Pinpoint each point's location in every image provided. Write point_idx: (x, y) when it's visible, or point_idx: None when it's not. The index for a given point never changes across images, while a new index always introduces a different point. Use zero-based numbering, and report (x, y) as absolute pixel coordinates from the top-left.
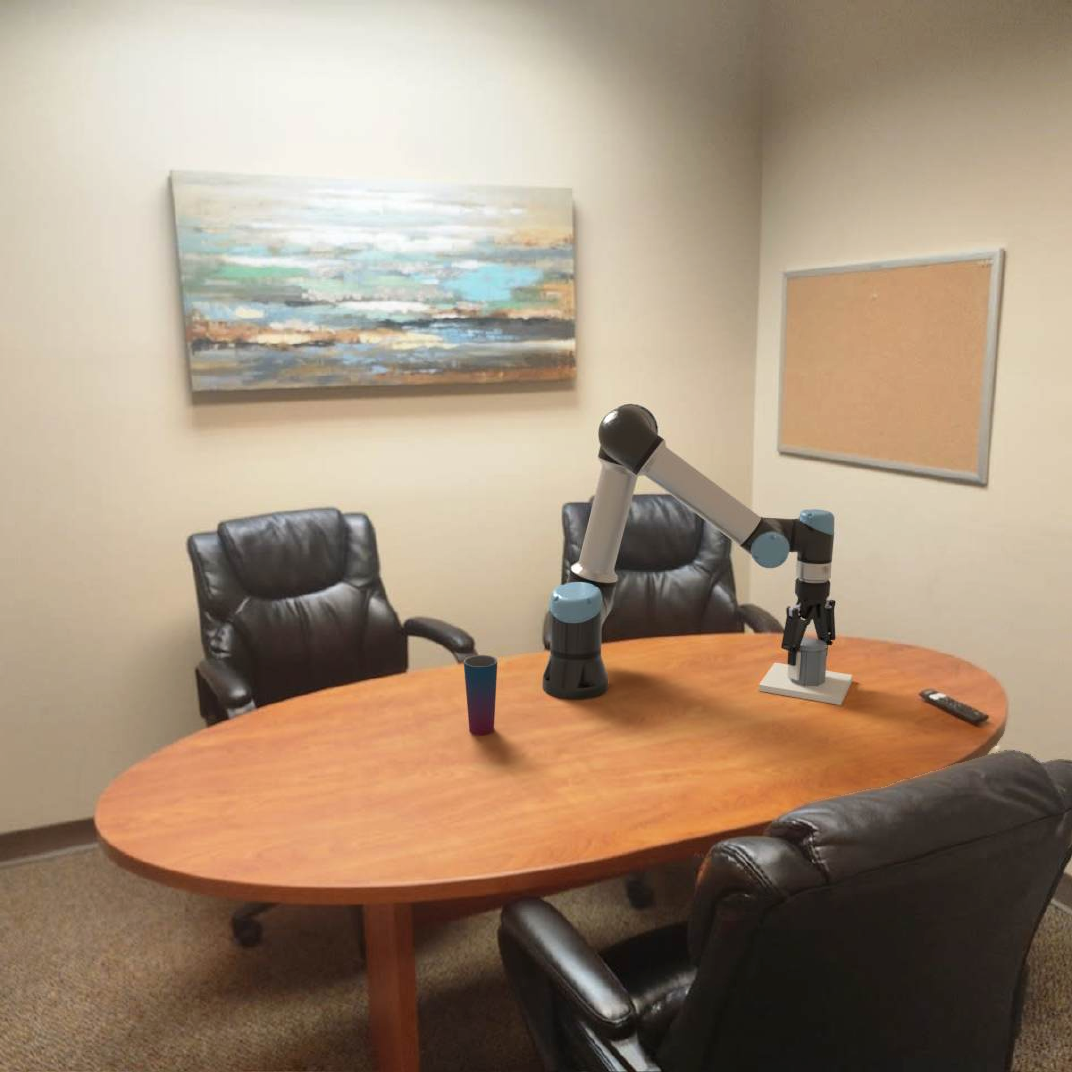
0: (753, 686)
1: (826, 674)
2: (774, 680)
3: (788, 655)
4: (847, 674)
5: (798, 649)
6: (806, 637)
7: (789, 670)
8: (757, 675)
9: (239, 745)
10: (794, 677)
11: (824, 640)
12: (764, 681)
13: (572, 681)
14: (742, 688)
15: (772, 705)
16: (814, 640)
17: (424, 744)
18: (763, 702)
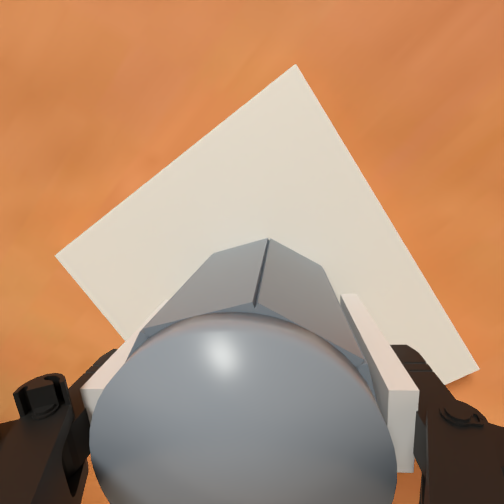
0: (80, 206)
1: (385, 312)
2: (136, 253)
3: (73, 389)
4: (465, 356)
5: (81, 483)
6: (331, 376)
7: None
8: (164, 114)
9: None
10: None
11: (422, 496)
12: (93, 241)
13: None
14: (32, 201)
15: (51, 356)
16: (326, 466)
17: None
18: (37, 327)
